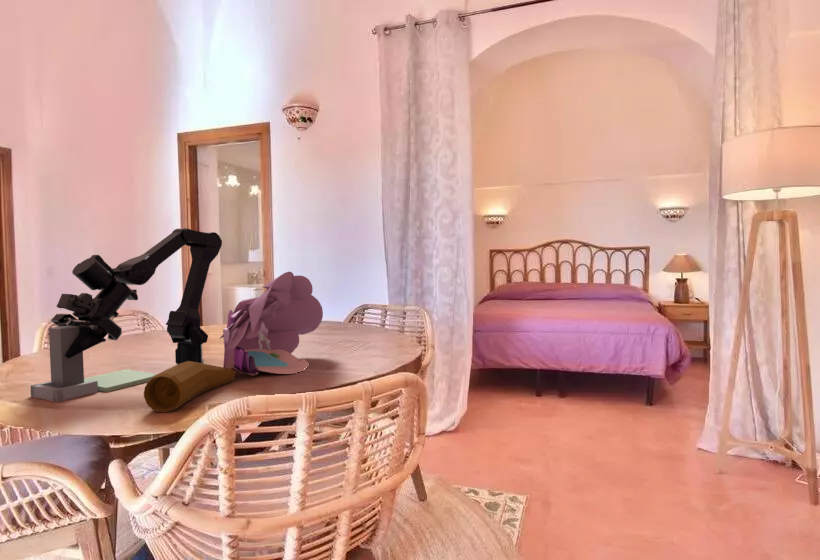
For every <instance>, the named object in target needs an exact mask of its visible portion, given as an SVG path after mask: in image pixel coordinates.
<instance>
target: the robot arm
mask: <svg viewBox="0 0 820 560" xmlns="http://www.w3.org/2000/svg"><path fill="white" fill-rule="evenodd" d="M222 245H223V240H222V238H221V236H220V235H219V234H218V233H217V232H215V231H211V232H209V231H208V232H206V231H205V232H204V231H203V232H202V231H199V230H193V229H190V228H186V227H183V228H174V229H173V230H172V232H171V233H170V234H169V235H167V236H166V237H165V238H163V239H162V240H160V241H159V242H158V243H157V244H155V245H153V246H152V247H151V248H149V249H148V250H147V251H146V252H144V253H142V254H140V255H138V256H135V257H133V258H130V259H127V260H125V261H123V262H120V263H118V265H117V266H116V267H114V268H112V267H111V266H110V265H109V264H108V263H107V262H106V261H105V260H104V259H103V257H102V256H100V254H92V255H91V256H90V257H88V258H86V259H85V260H83V261H81V262H80V263H77V264H76V265H75V266H74V267H73V269H72V271H71V273H72V275H74V276H75V277H76V278H77V279H78V280H79V281H80V282H81V283H82V284H84V285H85V286H86V287H87V288H88V289H90V290H91V291H96V290H98V291H99V292H97V294H96V295H95V296H94V297H93V295H92V294H91V293H87V292H81V293H80V294H79V295H77V294H71V293H70V294H69V293H61V296H60V298H59V299H58V301H57V302H58V303H57V304H56V306H55V307H56V308H59V309H63V310H64V309H65V310H67V311H70V312H72V313H56V314H55V315H54V317H52V318H51V319H50V322H52V323H53V324H54V325H55V326H56V327H61V326H69V325H71V326H79V335H78V337H77V338H76V339H75V341H74V342H73V344H72V345H71V346H70V348H69V349H68V351H67V352H66V354H65V357H67V358H71V357H73V356H75V355H77V354H79V353H81V352H83V353H84V351H87V350H89V349H90V348H93V347H95V346H97V345H99V344H102V343H105V342H106V341H107V339H108V340H110V341H118V339H119V338H120V337H121V336H122V334H123V329H122V327H121V326H119V325H118V324H117V323H116V322H115V321H114V320H112V319H111V318H117V317H118V316H119V315H120V314H119V312H118V310H119V309H120V308H121V307H122V305H123V304H124V303H125V302H126V301H127V300H128V301H138V300H139V296H138V293H137V292H138V291H137V289H133V288H131V287H129V286H143V285H145V284H147V283H148V282H149V281H150V279H151V278H152V277H153V276H154V275H155V273H156V270H157V269H158V267H159V266H160V265H161V264H162V263H163V262H165V261H166V260H168V259H169V258H170V257H171V256H173V254H175V253H176V252H178V251H179V250H180V249H181V248H182V247H184V246H186V247H187V246H188V247H189V252H190V255H191V259H192V261H191V264H190V267H189V272H188V275H187V278H186V282H185V286H184V289H183V292H182V293H183V294H182V297H181V301H180V305H179V307H178V308H177V309H176V310H170V311H169V313H168V319H167V322H166V323H165V325H166V326H167V327H166V332H167V333H168V336H170V339H171V341H172V344H176V346H177V347H176V349H175V350H174V353H175V354H174V356H175V357H174V358H175V365H178V364H180V363H183V362H186V361H192V362H197V363H203V364H204V358H203V345H204V344H206V343H207V342H208V338H209V335H208V334H207V333H206V331H204V330H203V329H202V328H201V324H202V323H201V322H202V320H201V316H200V315H201V314H200V312H199V308H200V304H201V302H202V301H201V299H202V297H203V293H204V289H205V284H206V281H207V278H208V273H209V270H210V265H211V263H212V262H213V260H215V258H216V257H217V256H218V255H219V253H220V251H221V249H222V248H221V247H222ZM106 336H107V339H105V337H106Z"/></svg>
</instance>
